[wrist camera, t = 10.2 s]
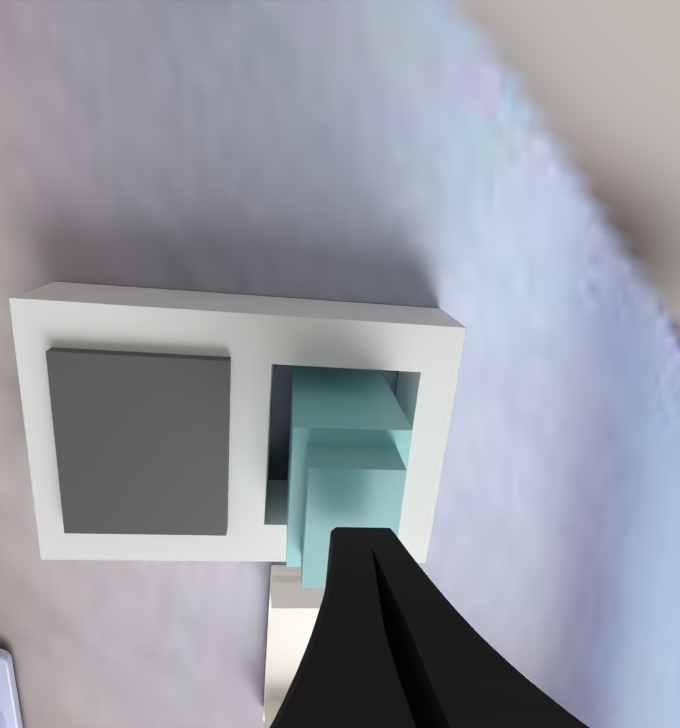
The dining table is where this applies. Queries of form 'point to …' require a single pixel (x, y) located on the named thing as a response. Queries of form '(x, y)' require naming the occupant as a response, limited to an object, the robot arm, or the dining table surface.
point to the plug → (341, 461)
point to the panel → (202, 413)
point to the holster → (287, 633)
